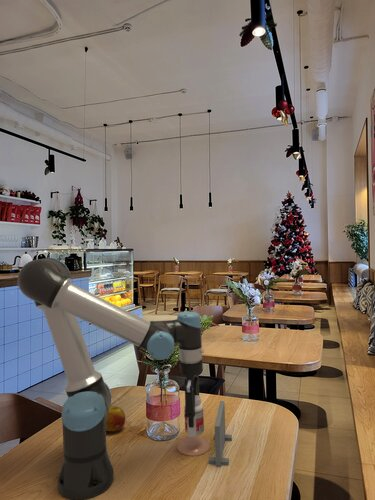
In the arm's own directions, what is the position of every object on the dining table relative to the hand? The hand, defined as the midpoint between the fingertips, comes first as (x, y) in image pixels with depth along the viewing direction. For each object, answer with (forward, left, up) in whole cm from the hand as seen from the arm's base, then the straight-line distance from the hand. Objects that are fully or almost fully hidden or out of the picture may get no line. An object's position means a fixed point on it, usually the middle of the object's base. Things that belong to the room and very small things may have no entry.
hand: (193, 430), depth 123 cm
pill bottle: (0, 0, 0) cm, 0 cm away
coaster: (0, 0, -5) cm, 5 cm away
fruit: (+8, +31, -6) cm, 33 cm away
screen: (-1, -9, -5) cm, 10 cm away
